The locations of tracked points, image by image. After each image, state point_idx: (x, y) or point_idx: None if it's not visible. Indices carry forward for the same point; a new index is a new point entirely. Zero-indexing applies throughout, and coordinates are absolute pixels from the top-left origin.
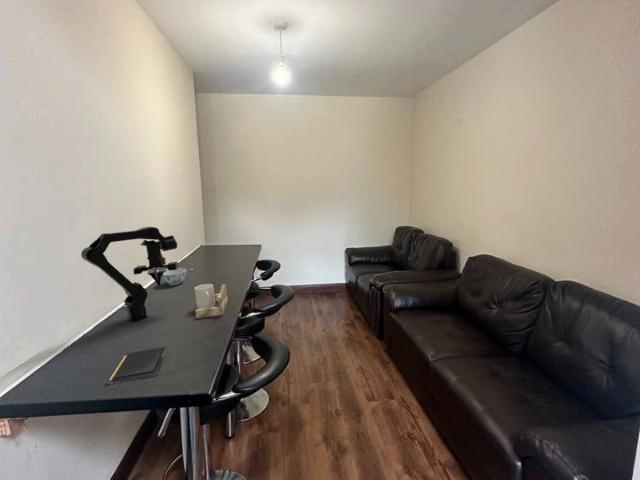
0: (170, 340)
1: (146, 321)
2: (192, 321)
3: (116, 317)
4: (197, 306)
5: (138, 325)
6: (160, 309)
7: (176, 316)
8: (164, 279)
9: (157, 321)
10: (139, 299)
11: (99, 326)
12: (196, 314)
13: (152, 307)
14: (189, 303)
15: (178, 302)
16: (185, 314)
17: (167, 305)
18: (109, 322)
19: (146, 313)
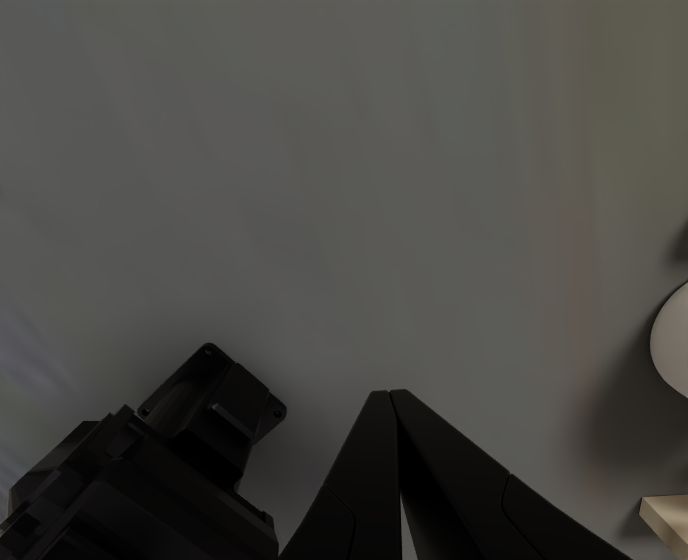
0: None
1: (314, 477)
2: (615, 547)
3: (16, 342)
4: (668, 374)
5: (287, 522)
6: (331, 266)
7: (503, 450)
8: None
9: None
10: None
11: (5, 475)
12: (664, 539)
13: (229, 183)
14: (569, 186)
15: (455, 112)
16: (561, 432)
17: (364, 173)
18: (30, 426)
19: (268, 394)
